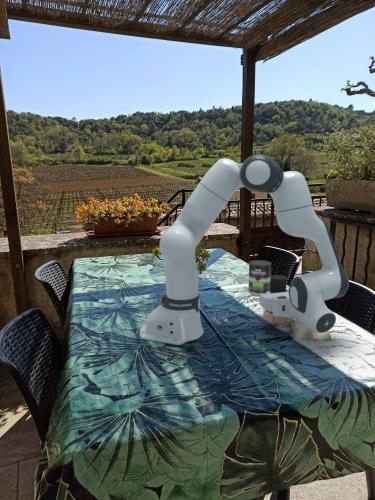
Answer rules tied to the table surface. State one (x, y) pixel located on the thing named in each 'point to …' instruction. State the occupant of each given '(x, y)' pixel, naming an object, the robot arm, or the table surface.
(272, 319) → the ring dish
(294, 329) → the beige square cloth
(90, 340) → the table surface
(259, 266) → the coffee can
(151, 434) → the table surface
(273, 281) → the deodorant
